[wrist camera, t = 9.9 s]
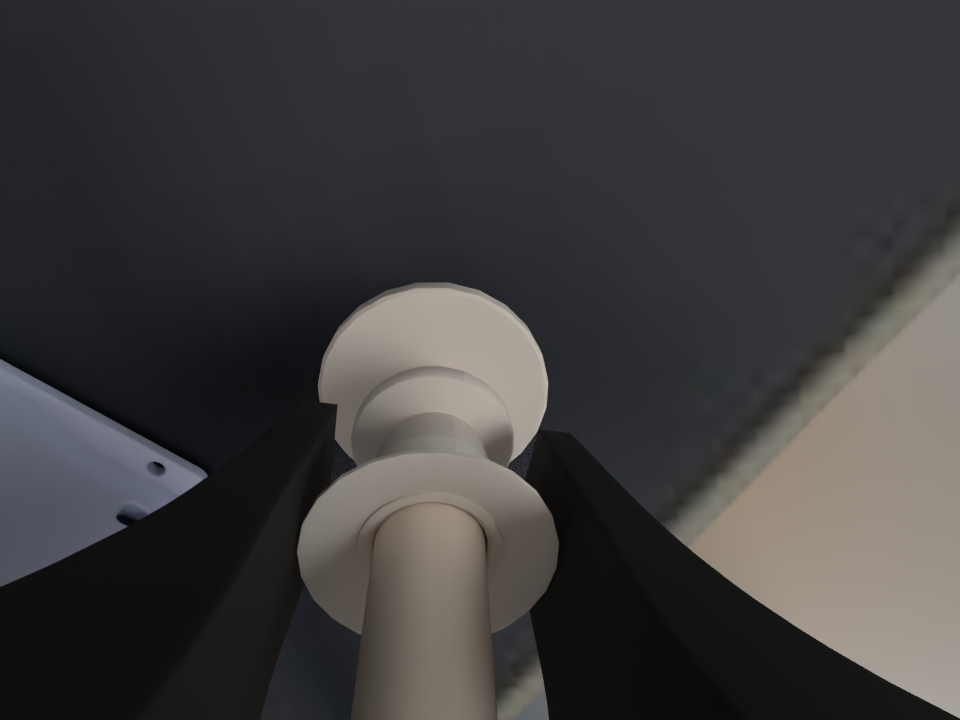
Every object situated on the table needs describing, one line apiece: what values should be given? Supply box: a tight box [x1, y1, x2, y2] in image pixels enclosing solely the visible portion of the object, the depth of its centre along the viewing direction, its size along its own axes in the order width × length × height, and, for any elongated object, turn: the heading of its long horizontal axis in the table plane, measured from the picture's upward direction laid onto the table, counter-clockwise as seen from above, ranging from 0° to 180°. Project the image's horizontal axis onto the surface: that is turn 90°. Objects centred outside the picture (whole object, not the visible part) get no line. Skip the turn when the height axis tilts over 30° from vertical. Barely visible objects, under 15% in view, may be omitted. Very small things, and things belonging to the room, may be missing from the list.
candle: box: [297, 283, 559, 720], centre depth 9 cm, size 5×5×10 cm
